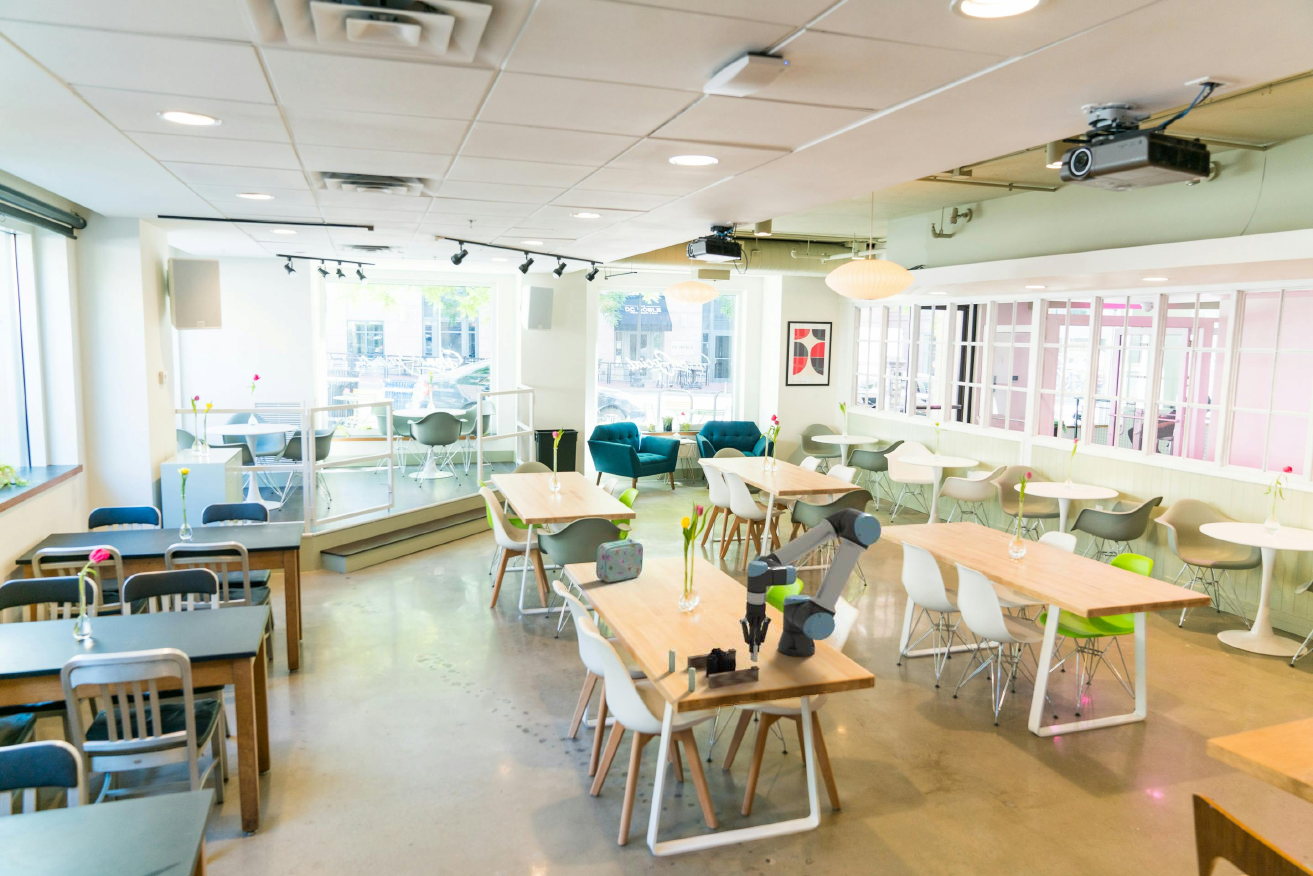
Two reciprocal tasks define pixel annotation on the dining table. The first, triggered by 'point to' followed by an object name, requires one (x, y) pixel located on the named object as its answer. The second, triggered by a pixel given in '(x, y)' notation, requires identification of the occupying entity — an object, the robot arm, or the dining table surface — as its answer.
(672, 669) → the posts
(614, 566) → the lunch box
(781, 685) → the dining table surface
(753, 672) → the chute
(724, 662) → the film camera
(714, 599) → the dining table surface
